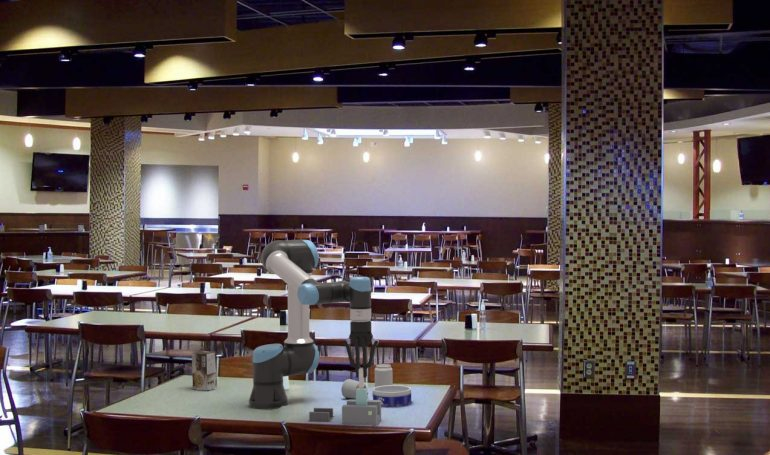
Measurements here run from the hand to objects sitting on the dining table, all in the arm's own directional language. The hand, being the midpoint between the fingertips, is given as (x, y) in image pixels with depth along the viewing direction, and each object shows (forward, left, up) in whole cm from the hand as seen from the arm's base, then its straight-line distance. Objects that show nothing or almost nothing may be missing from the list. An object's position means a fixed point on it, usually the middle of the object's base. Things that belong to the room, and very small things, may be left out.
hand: (361, 386), depth 301 cm
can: (0, +52, -13) cm, 54 cm away
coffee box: (-79, +55, -13) cm, 97 cm away
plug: (0, 0, -13) cm, 13 cm away
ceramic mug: (-10, +42, -13) cm, 45 cm away
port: (0, 0, -13) cm, 13 cm away
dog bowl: (+6, +34, -13) cm, 37 cm away
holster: (-15, +1, -13) cm, 20 cm away
